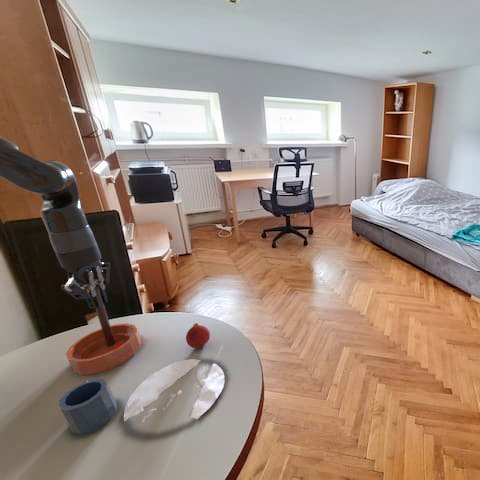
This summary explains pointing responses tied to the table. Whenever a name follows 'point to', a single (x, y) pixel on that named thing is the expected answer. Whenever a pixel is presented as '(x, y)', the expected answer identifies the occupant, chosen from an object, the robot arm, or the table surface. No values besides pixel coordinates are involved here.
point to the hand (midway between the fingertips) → (99, 305)
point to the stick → (104, 321)
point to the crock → (88, 406)
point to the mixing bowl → (103, 350)
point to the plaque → (167, 377)
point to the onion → (197, 336)
